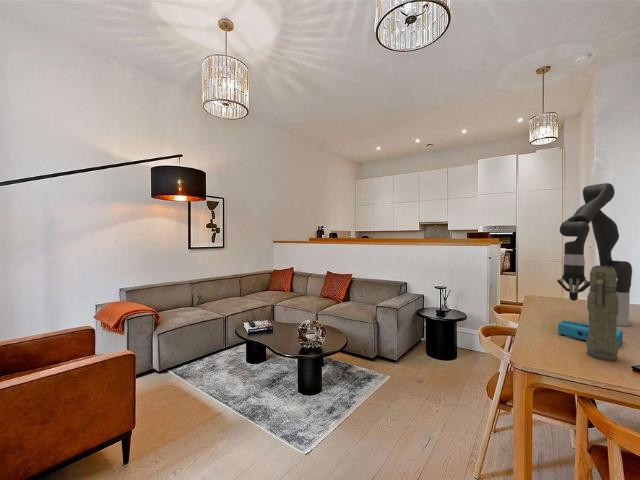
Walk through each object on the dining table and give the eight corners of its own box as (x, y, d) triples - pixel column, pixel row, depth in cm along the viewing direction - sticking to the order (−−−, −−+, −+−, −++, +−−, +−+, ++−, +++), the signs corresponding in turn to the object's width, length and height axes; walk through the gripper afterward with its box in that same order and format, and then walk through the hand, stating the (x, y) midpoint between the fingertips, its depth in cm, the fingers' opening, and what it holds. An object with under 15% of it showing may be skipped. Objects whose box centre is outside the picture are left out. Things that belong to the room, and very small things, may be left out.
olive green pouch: (585, 357, 114) (586, 266, 113) (587, 348, 122) (588, 264, 121) (617, 364, 107) (619, 268, 107) (618, 355, 116) (619, 265, 115)
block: (557, 334, 138) (617, 347, 122) (557, 323, 138) (617, 335, 122) (564, 329, 145) (622, 341, 129) (565, 319, 145) (622, 329, 129)
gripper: (590, 263, 139) (590, 300, 139) (555, 262, 146) (554, 297, 146) (594, 265, 133) (594, 303, 133) (557, 263, 140) (556, 300, 140)
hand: (573, 300), depth 140 cm, fingers closed
